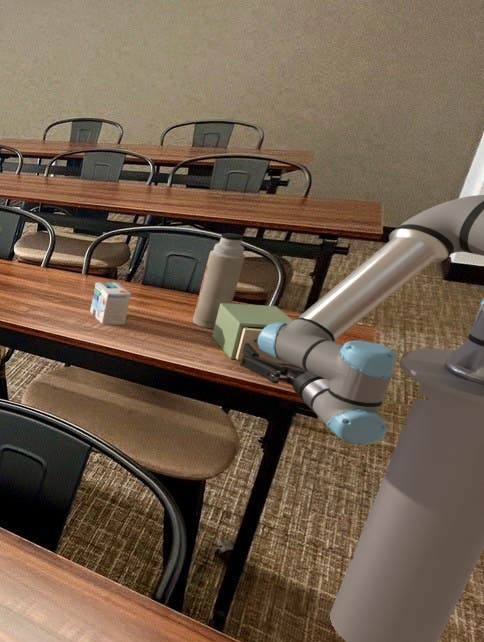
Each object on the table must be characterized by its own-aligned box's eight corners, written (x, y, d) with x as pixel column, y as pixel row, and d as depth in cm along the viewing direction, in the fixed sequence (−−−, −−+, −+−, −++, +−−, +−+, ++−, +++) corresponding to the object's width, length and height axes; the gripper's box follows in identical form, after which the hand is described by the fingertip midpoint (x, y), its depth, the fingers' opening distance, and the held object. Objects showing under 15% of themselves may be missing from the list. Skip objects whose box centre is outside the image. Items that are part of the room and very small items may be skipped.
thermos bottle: (187, 322, 176) (209, 234, 166) (199, 316, 180) (222, 229, 169) (218, 331, 169) (243, 240, 159) (230, 324, 173) (255, 235, 163)
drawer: (301, 373, 143) (311, 341, 140) (244, 368, 147) (252, 337, 144) (269, 342, 159) (277, 313, 156) (219, 338, 163) (226, 310, 160)
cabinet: (290, 364, 149) (301, 327, 146) (230, 359, 154) (239, 322, 150) (266, 340, 162) (276, 306, 158) (212, 336, 167) (220, 302, 163)
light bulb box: (89, 312, 188) (94, 281, 184) (111, 312, 187) (118, 281, 183) (101, 325, 178) (107, 293, 174) (125, 326, 177) (132, 293, 173)
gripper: (247, 400, 130) (214, 358, 149) (393, 415, 121) (339, 369, 140) (255, 371, 128) (221, 332, 146) (405, 384, 119) (349, 341, 137)
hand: (279, 350), depth 143 cm, fingers open, 13 cm apart
